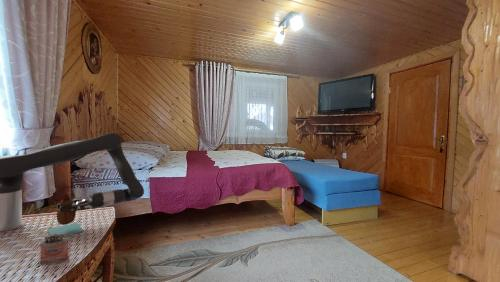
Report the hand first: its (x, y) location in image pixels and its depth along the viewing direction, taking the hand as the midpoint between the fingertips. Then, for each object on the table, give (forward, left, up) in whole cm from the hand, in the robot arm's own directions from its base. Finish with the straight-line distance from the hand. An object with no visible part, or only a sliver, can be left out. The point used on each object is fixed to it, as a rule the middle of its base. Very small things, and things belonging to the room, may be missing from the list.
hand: (58, 207), depth 100 cm
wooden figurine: (0, +3, -8) cm, 9 cm away
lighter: (+25, -6, -12) cm, 28 cm away
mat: (0, +2, -12) cm, 12 cm away
